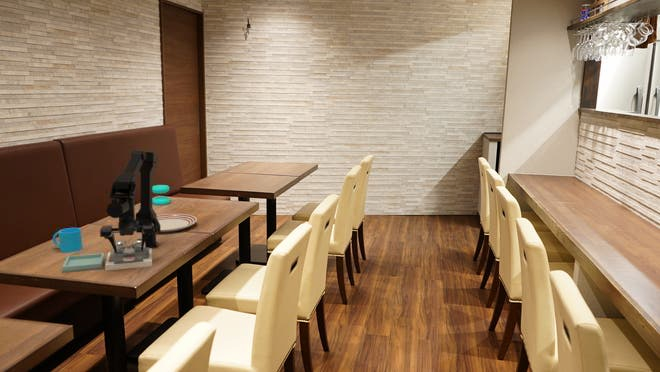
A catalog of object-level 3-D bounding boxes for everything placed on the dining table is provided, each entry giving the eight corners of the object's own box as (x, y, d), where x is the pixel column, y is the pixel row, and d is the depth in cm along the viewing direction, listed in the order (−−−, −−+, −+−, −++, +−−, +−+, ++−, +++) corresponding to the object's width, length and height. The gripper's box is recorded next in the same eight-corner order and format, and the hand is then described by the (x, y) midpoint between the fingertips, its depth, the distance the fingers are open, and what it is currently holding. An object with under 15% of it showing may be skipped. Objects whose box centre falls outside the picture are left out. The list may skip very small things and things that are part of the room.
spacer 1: (114, 250, 208) (113, 240, 207) (126, 249, 209) (126, 239, 208) (113, 254, 203) (112, 244, 203) (126, 253, 205) (125, 243, 204)
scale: (108, 257, 209) (108, 248, 208) (152, 253, 213) (151, 245, 213) (105, 271, 193) (104, 262, 192) (152, 266, 198) (151, 257, 197)
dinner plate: (174, 237, 236) (174, 230, 235) (123, 232, 245) (123, 225, 244) (208, 222, 261) (208, 216, 261) (161, 218, 270) (160, 211, 269)
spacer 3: (133, 249, 210) (132, 239, 209) (145, 248, 211) (145, 238, 210) (133, 252, 206) (132, 242, 205) (145, 251, 207) (144, 241, 206)
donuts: (155, 188, 293) (148, 185, 301) (156, 206, 295) (149, 203, 302) (172, 186, 299) (165, 183, 307) (173, 203, 301) (166, 200, 309)
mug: (86, 247, 221) (85, 228, 220) (74, 253, 213) (72, 233, 212) (60, 245, 223) (58, 226, 222) (47, 251, 215) (45, 232, 214)
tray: (67, 261, 204) (67, 256, 203) (104, 257, 208) (104, 253, 207) (62, 272, 192) (62, 267, 191) (101, 268, 196) (101, 263, 195)
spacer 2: (123, 254, 203) (122, 244, 202) (135, 253, 204) (135, 243, 204) (122, 258, 199) (121, 247, 198) (135, 257, 200) (134, 246, 199)
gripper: (97, 218, 188) (100, 260, 191) (152, 214, 194) (155, 255, 197) (99, 211, 198) (103, 251, 201) (152, 207, 204) (155, 247, 207)
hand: (129, 251), depth 201 cm, fingers open, 9 cm apart
